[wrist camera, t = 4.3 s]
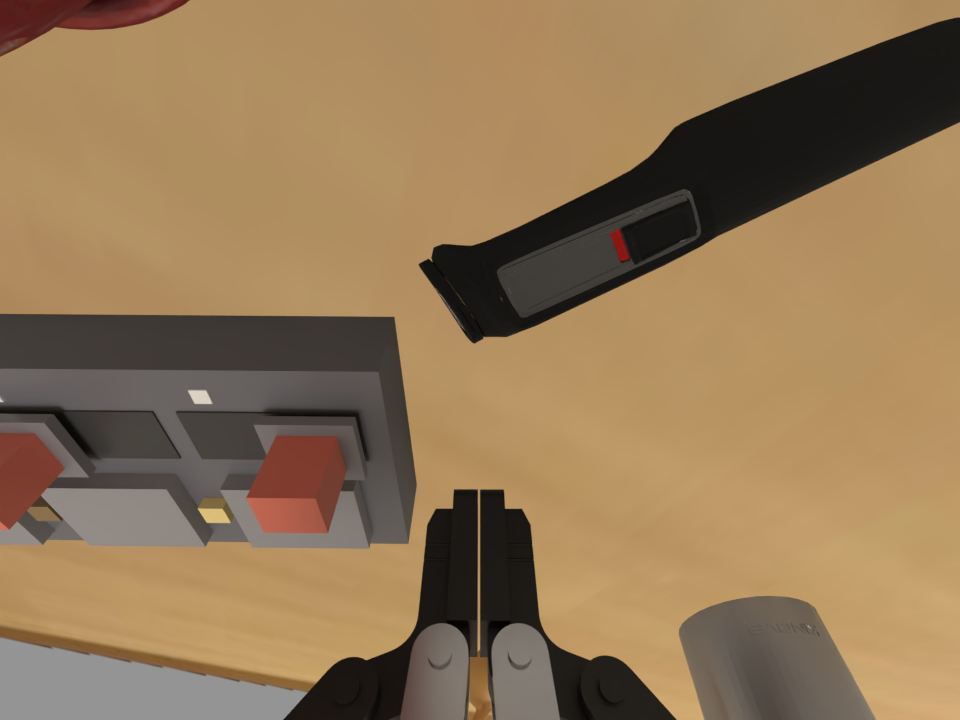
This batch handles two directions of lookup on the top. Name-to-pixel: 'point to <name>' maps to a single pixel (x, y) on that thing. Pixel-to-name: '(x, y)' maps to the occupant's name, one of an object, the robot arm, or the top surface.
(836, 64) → the electric trimmer
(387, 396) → the switch panel
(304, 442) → the switch
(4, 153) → the top surface
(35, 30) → the plant pot
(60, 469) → the switch
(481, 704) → the figurine
